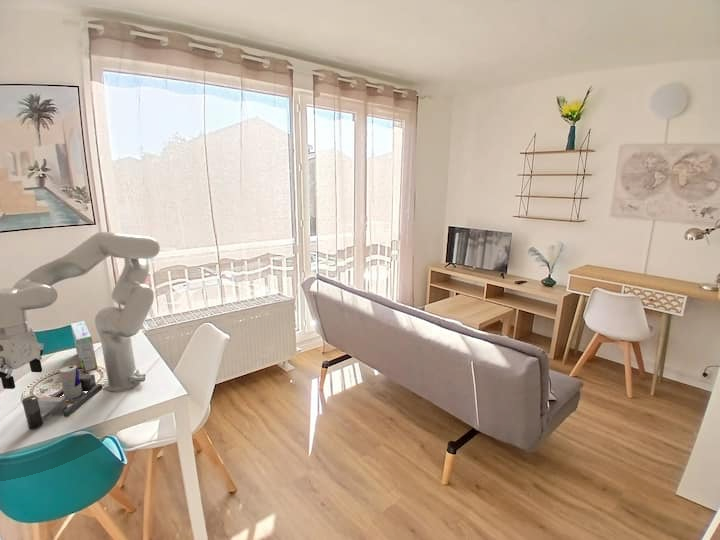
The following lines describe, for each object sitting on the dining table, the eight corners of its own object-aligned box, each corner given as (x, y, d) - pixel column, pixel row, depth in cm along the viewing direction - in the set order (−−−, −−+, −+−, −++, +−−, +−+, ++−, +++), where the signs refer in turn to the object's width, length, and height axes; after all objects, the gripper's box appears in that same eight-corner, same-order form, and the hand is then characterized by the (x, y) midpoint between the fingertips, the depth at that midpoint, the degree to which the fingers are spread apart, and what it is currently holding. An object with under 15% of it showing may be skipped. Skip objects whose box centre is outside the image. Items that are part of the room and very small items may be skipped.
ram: (68, 410, 131) (62, 384, 128) (43, 429, 121) (37, 402, 119) (45, 409, 131) (39, 384, 129) (19, 429, 121) (12, 401, 119)
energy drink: (86, 393, 142) (81, 364, 139) (76, 401, 136) (70, 372, 133) (72, 393, 141) (66, 364, 138) (61, 402, 136) (55, 372, 133)
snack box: (75, 354, 171) (69, 323, 167) (90, 350, 175) (85, 320, 171) (82, 372, 156) (76, 339, 152) (98, 368, 160) (92, 335, 156)
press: (102, 388, 145) (99, 374, 143) (68, 416, 128) (64, 401, 127) (70, 387, 145) (67, 373, 143) (32, 416, 128) (28, 400, 127)
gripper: (-3, 341, 106) (10, 395, 110) (48, 318, 122) (57, 366, 127) (-29, 341, 106) (-16, 395, 110) (25, 318, 122) (35, 365, 127)
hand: (23, 379), depth 118 cm, fingers open, 9 cm apart
